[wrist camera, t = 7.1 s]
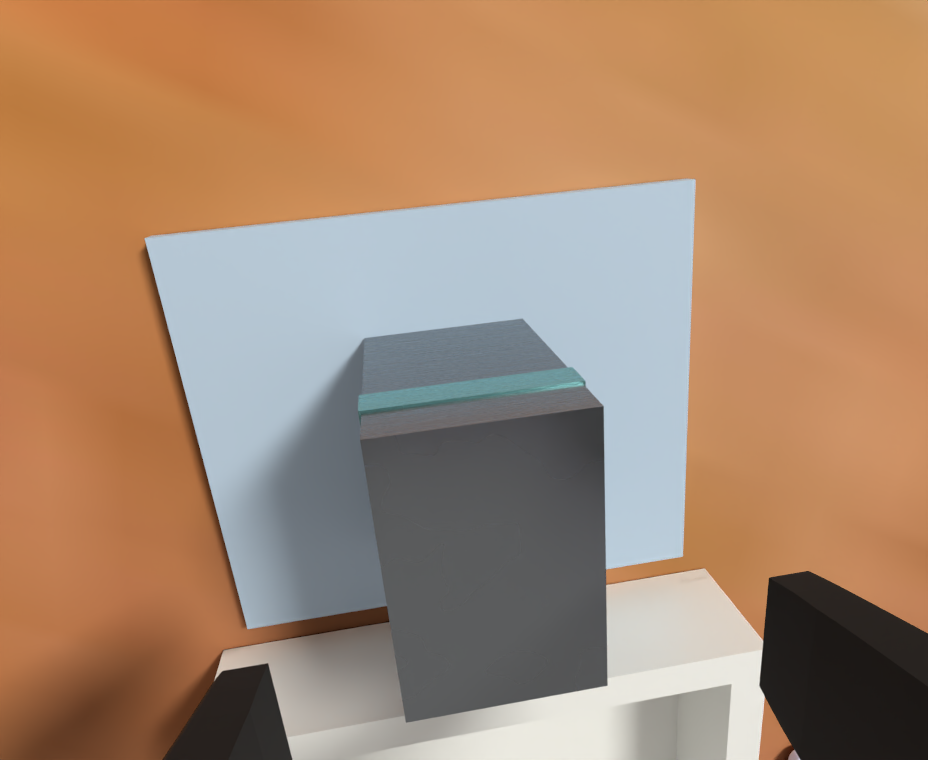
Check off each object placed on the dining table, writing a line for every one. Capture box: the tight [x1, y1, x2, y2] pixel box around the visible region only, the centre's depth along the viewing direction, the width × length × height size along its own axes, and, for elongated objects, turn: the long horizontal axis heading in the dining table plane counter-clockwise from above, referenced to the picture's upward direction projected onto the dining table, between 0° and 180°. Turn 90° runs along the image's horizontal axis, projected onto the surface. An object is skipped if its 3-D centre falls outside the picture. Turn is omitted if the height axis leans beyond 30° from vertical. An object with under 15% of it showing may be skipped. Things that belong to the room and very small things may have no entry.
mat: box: [145, 179, 695, 629], centre depth 17 cm, size 13×11×1 cm
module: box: [358, 319, 608, 723], centre depth 14 cm, size 4×6×6 cm
